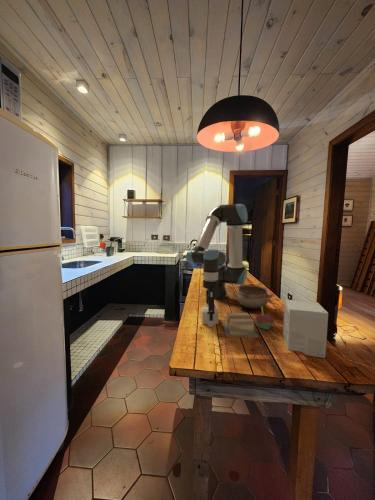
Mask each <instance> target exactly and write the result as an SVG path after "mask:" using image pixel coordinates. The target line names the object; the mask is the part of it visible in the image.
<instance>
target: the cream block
mask: <svg viewBox="0 0 375 500" xmlns="http://www.w3.org/2000/svg"><path fill="white" fill-rule="evenodd" d="M207 312H209V311H208V307H206V306H201V312H200V313H201V314H200V315H201V316H200V317H201V324H202V325H203V324H205V325H208V314H207ZM214 312H215V313H214V325H219V318H220V317H219V314H220V313H219V309H218V307H217V306H214Z"/></svg>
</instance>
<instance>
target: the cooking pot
mask: <svg viewBox="0 0 375 500" xmlns="http://www.w3.org/2000/svg"><path fill="white" fill-rule="evenodd" d="M268 291H269V290H268V288H267V287H265V286H260V285H255V284H243V285H237V292H236V293H234V292H231V295H232V296H234V297H235V298H236V300H237V302H238V303H239V304H240V305H241V306H243V307H244V308H246V309H248V310H251V311H253V310H258V309H262V308H261V306H263V307H265V306H266V305H267V304H268V302H269V299H271V298H273V297H274V294H268Z"/></svg>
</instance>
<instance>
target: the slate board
mask: <svg viewBox="0 0 375 500" xmlns="http://www.w3.org/2000/svg"><path fill="white" fill-rule="evenodd" d="M222 326H223V330H224V332H225V335H226V337H227V338H230V337H231V338H260V336H259V335H258V333H257V332H256V329H253V335H231V334H230V332H229V329H228V326H227V322H222Z"/></svg>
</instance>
